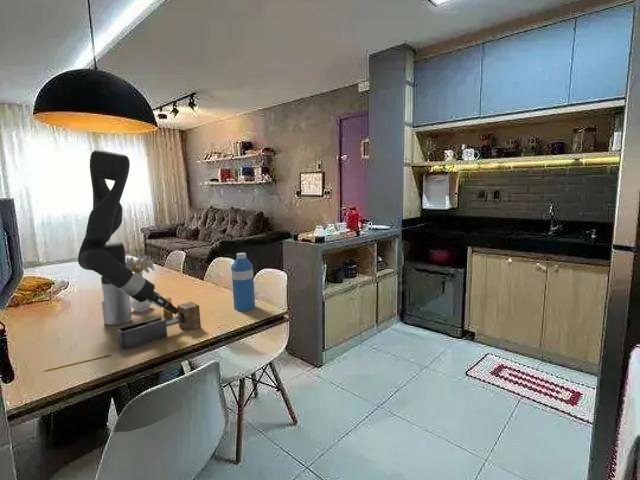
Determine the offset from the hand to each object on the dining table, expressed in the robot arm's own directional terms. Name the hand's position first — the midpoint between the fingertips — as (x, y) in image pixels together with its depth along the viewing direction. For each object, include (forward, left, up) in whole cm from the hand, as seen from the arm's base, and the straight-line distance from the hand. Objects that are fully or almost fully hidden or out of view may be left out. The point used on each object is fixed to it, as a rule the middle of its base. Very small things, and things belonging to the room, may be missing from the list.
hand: (173, 310), depth 130 cm
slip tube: (-1, -1, -6) cm, 6 cm away
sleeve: (-8, -8, -9) cm, 14 cm away
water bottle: (+21, +25, -9) cm, 34 cm away
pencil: (-22, -23, -9) cm, 33 cm away
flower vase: (-26, +27, -9) cm, 39 cm away
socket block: (+4, +4, -9) cm, 10 cm away
